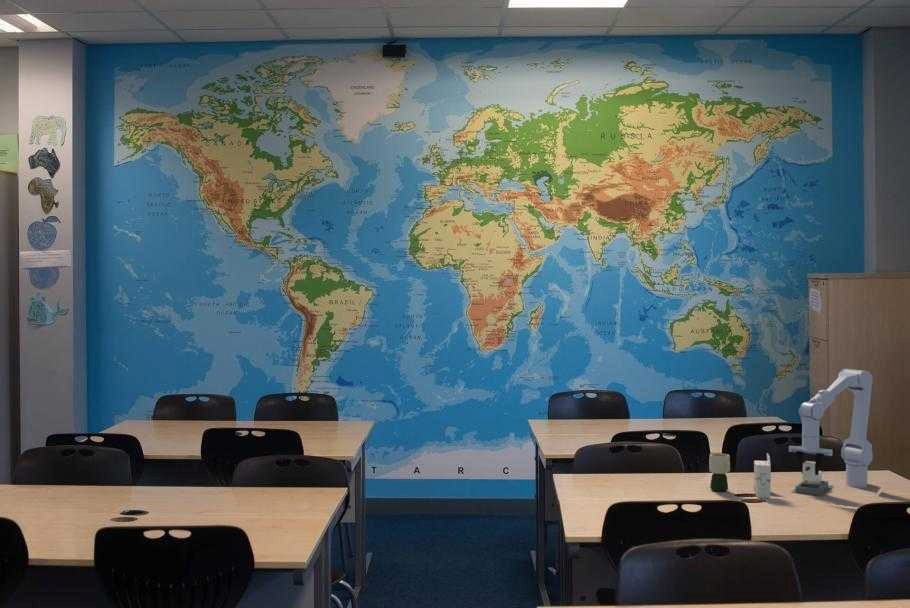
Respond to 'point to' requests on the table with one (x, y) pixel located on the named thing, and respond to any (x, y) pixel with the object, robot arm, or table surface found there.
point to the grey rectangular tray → (812, 488)
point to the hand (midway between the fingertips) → (810, 473)
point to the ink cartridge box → (762, 478)
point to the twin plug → (818, 480)
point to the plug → (809, 471)
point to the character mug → (719, 470)
